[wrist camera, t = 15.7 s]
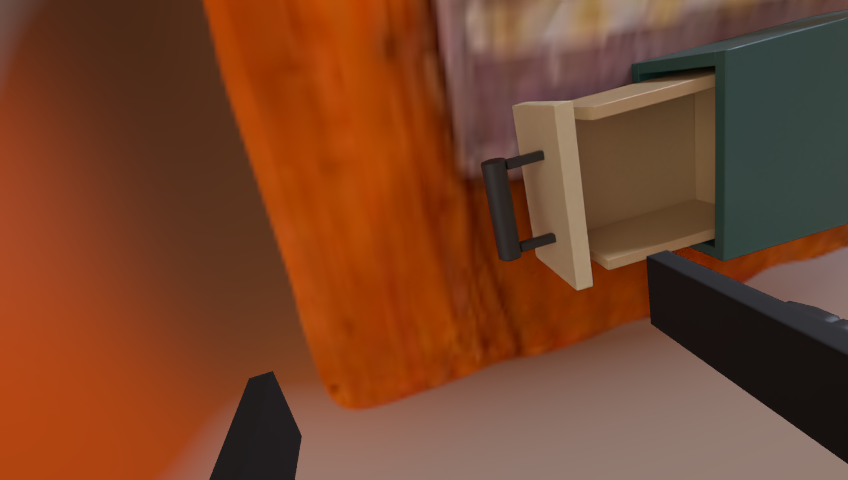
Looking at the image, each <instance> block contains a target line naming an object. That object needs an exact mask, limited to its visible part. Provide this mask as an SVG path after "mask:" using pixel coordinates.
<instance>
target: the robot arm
mask: <svg viewBox="0 0 848 480" xmlns="http://www.w3.org/2000/svg"><path fill="white" fill-rule="evenodd" d="M646 259H647V273H648V287H649V302H650V316H651V324H652V325H654V326H655V327H656V328H658V329H659V330H661V331H662V332H663V333H665V334H666V335H668V336H669V337H671V338H672V339H673V340H675V341H676V342H677V343H679V344H680V345H682V346H683V347H685V348H686V349H687V350H689V351H690V352H692V353H693V354H694V355H696V356H697V357H699V358H700V359H701V360H703V361H704V362H706V363H707V364H708V365H710V366H711V367H713V368H714V369H715V370H717V371H718V372H720V373H721V374H722V375H724V376H725V377H727V378H728V379H729V380H731V381H732V382H734V383H735V384H737V385H738V386H739V387H741V388H742V389H743V390H745V391H746V392H748V393H749V394H750V395H752V396H753V397H755V398H756V399H758V400H759V401H760V402H762V403H763V404H765V405H766V406H767V407H769V408H770V409H772V410H773V411H774V412H776V413H777V414H779V415H780V416H782V417H783V418H784V419H786V420H787V421H788V422H790V423H791V424H793V425H794V426H795V427H797V428H798V429H800V430H801V431H802V432H804V433H805V434H807V435H808V436H809V437H811V438H812V439H814V440H815V441H817V442H818V443H819V444H821V445H822V446H824V447H825V448H826V449H828V450H829V451H831V452H832V453H833V454H835V455H836V456H837V457H839V458H840V459H842V460H843V461H845V462H846V463H847V464H848V320H845V319H840V318H839V317H838V316H836V315H834V314H831V313H829V312H827V311H824V310H822V309H819V308H817V307H814V306H809V305H805V304H801V303H797V302H792V301H788V302H783V301H781V300H779V299H776V298H774V297H772V296H770V295H767V294H765V293H762V292H760V291H758V290H756V289H754V288H751V287H749V286H747V285H745V284H742V283H740V282H738V281H736V280H733V279H731V278H729V277H727V276H724V275H722V274H720V273H718V272H715V271H713V270H711V269H708V268H706V267H704V266H702V265H699V264H697V263H695V262H693V261H690V260H688V259H686V258H684V257H681V256H679V255H677V254H674V253H672V252H670V251H668V250H665V251H662V252H658V253H655V254H652V255H649V256H646ZM301 437H302V436H301V434H300V431H299V429H298V427H297V425H296V422H295V420H294V418H293V415H292V413H291V411H290V409H289V407H288V404H287V402H286V400H285V397H284V395H283V393H282V391H281V388H280V386H279V384H278V382H277V380H276V378H275V375H274V373H273V371H272V372H268V373H265V374H262V375H259V376H256V377H252V378H249V380H248V383H247V385H246V388H245V390H244V393H243V396H242V398H241V401H240V403H239V406H238V408H237V411H236V413H235V416H234V418H233V421H232V423H231V426H230V429H229V431H228V434H227V436H226V439H225V441H224V444H223V446H222V449H221V452H220V454H219V457H218V459H217V462H216V464H215V467H214V469H213V472H212V474H211V477H210V480H295V474H296V468H297V462H298V456H299V449H300V444H301Z"/></svg>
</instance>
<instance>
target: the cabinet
mask: <svg viewBox="0 0 848 480" xmlns="http://www.w3.org/2000/svg"><path fill="white" fill-rule="evenodd" d="M709 66H715V238H714V239H711V240H708V241H704V242H701V243H698V244H694V245H691V246H688V247H691V248H693V249H695V250H698V251H700V252H702V253H705V254H707V255H710V256H712V257H715V258H717V259H719V260H721V261H727V260H731V259H734V258H737V257H740V256H744V255H747V254H750V253H753V252H757V251H760V250H763V249H766V248H770V247H773V246H776V245H780V244H783V243H786V242H789V241H793V240H796V239H799V238H802V237H806V236H809V235H812V234H815V233H819V232H822V231H825V230H828V229H832V228H835V227H838V226H841V225H845V224H848V9H847V10H842V11H837V12H832V13H827V14H822V15H817V16H812V17H808V18H804V19H801V20H797V21H793V22H789V23H786V24H782V25H778V26H774V27H770V28H767V29H763V30H759V31H755V32H752V33H748V34H744V35H740V36H737V37H733V38H729V39H725V40H721V41H718V42H714V43H710V44H706V45H703V46H699V47H695V48H691V49H688V50H684V51H680V52H676V53H672V54H669V55H665V56H661V57H657V58H654V59H650V60H646V61H642V62H639V63H635V64H632V76H633V84H634V83H638V82H641V81H645V80H649V79H653V78H656V77H660V76H664V75H667V74H671V73H675V72H679V71H682V70H686V69H691V68H700V67H709Z"/></svg>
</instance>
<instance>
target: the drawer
mask: <svg viewBox="0 0 848 480" xmlns="http://www.w3.org/2000/svg"><path fill="white" fill-rule="evenodd" d="M512 109H513V115H514V121H515V128H516V134H517V140H518V146H519V153H520V156H517V157H513V158H509V159H506V160H505V159H504V158H494V159H489V160H486V161H484V162H482V163H481V168H482V173H483V178H484V184H485V189H486V194H487V199H488V204H489V209H490V214H491V219H492V225H493V230H494V235H495V240H496V245H497V250H498V255H499V259H500V260H502V261H513V260H516V259H518V258H520V257H521V252H524V251H528V250H531V249H535V252H536V257H537V258H539V259H540V260H541V261H542V262H543V263H545V264H546V265H547V266H548V267H549V268H551V269H552V270H553V271H554V272H555V273H556V274H558V275H559V276H560V277H561V278H562V279H564V280H565V281H566V282H567V283H568V284H570V285H571V286H572V287H573V288H574V289H576V290H577V291H578V290H581V289H585V288H588V287H591V286H593V281H592V272H591V263H590V259H592V260H593V261H595V262H596V263H598V264H600V265H601V266H603V267H604V268H606V269H607V270H611V269H615V268H618V267H621V266H625V265H628V264H631V263H635V262H638V261H641V260H645V259H646V256H649V255H652V254H655V253H658V252H662V251H665V250H668V251H670V252H671V251H674V250H678V249H681V248H684V247H688V246H691V245H694V244H698V243H701V242H704V241H708V240H711V239H714V238H715V66H709V67H700V68H691V69H686V70H682V71H679V72H675V73H671V74H667V75H664V76H660V77H656V78H653V79H649V80H645V81H641V82H638V83H634V84H630V85H627V86H623V87H619V88H615V89H612V90H608V91H604V92H601V93H597V94H593V95H589V96H586V97H582V98H578V99H575V100H571V101H539V102H524V103H520V104H516V105H513V106H512ZM520 166H522V171H523V177H524V184H525V190H526V196H527V202H528V209H529V215H530V221H531V227H532V233H533V238H531V239H527V240H524V241H521V242H519V236H518V231H517V225H516V219H515V213H514V208H513V202H512V196H511V190H510V185H509V179H508V173H507V170H509V169H513V168H516V167H520Z"/></svg>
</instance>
